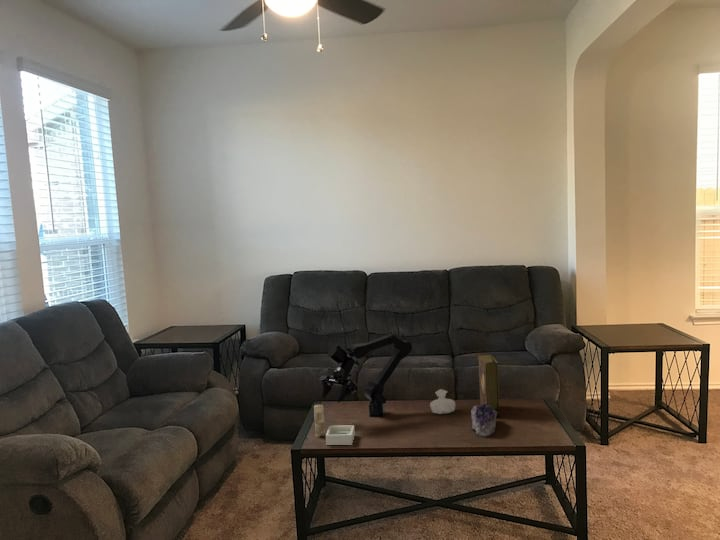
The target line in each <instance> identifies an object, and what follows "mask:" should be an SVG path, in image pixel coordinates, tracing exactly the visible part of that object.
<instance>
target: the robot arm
mask: <svg viewBox="0 0 720 540" xmlns="http://www.w3.org/2000/svg"><path fill="white" fill-rule="evenodd" d="M389 345H391V346H393V349H392V354H391V356H390V358H389V359H388V360H387V362H386V364H385V365H384V367H383V368H382V369H381V371H380V372H379V374H378V376H377V377H376V378H375V379H374V380H373V381H372V380H369V381H368V382H367V385H366V386H364V396H365V397H366V398H367V401H369V405H368V413H369V415H368V416H369V417H373V416H376V418H383V417H384V416H385V414H387V412H386V407H385V404H386V403H387V397H385V396H384V394H383V393H384V390H385V385H386V384H387V382H388V381H389V379H390V378H391V376H392V374H393V373H394V371H395V370H396V369H397V367H398V365H399V364H400V363H401V361H402V360H404V359H406V358H407V357H408V355H410V354H411V352H412V350H413V344H412V343H411V342H409V341H407V340H403V339H400V338H398V337H397V336H396V335H394V334H389V333H388V334H386V335H384V336H381V337H378V338H375V339H372V340H370V341H367V342H361V343H359V342H358V343H353V344H351V345H349V347H347V348H344V349H343V348H342V347H341V346H340V345H339V344H336V345H334V346H333V347H332V348H331V349H329V350H328V352H327V358H329V359H331V361H333V362H334V363H335V364H337V365H338V364H340V365H339V366H338V367H336V368H334V367H327V370H326V375H324V374H322V375H321V376H320V377H319V381H320V383H321V384H322V392H321V399H322V400H325V398H326V397H327V396H328V394H330V392H331V390H332V388H333V386H334V385H336V386H340V387H341V391H340V393H339V395H338V398H337V403H340V402H342V401H343V400H344V399H346V398H347V397H348V396H350V395H351V394H354V393H356V392H358V389H359V387H358V384H357V383H356V382H355V381H354V380H353V379H352V380H351V379H349V378H351V377H352V374H351V373H352V371H353V369H354V367H358V366H360V363H359V360H362V359H363V358H364V357H366V356H367V355H368V354H369V353H371V352H373V351H376V350H379V349H381V348H384V347H386V346H389ZM354 358H355V359H354ZM330 376H331V377H330Z"/></svg>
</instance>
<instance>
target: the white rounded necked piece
mask: <svg viewBox="0 0 720 540" xmlns="http://www.w3.org/2000/svg"><path fill="white" fill-rule="evenodd" d="M447 393H448V390H445V389H441V388H440V389H438V390H437V391H435V395H436V397H438V398H437V399H434V400H432V401H431V402H430V403H429V406H430V409H431V412H432V413H433V414H438V415H442V414H450V413H452V412H453V413H454V412H455V409H456V401H454V399H450V398H446V396H447V395H446V394H447Z"/></svg>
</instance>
